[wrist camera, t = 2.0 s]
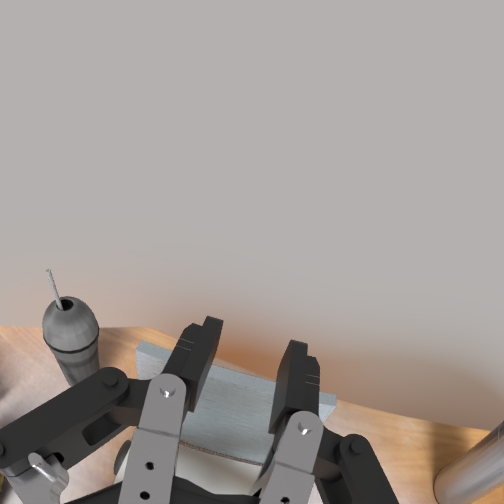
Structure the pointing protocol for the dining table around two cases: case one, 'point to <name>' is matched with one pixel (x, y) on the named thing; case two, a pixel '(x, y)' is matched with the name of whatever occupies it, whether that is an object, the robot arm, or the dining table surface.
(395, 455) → the dining table surface
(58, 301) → the beverage cup
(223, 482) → the flatbed cart
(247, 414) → the panel
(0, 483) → the potato
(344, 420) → the dining table surface
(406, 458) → the dining table surface
